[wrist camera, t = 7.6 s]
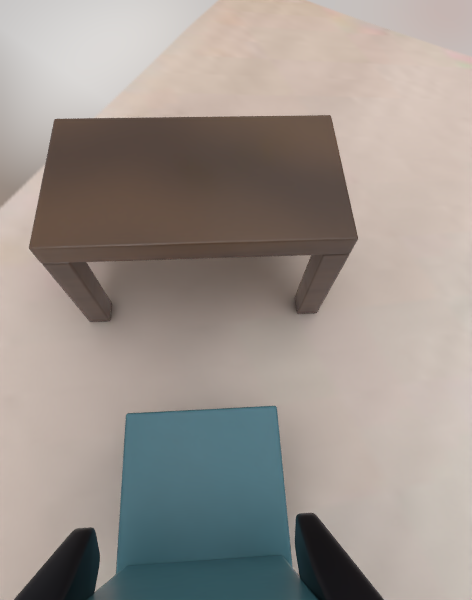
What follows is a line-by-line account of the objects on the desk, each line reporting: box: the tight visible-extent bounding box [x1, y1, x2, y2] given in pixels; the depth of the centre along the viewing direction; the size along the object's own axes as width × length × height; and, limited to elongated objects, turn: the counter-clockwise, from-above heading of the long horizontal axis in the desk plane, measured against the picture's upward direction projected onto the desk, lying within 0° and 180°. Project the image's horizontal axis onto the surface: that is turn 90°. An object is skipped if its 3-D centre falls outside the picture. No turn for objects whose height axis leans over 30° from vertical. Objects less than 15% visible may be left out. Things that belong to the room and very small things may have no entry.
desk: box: [29, 115, 358, 322], centre depth 17 cm, size 6×11×6 cm, turn 93°
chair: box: [87, 406, 319, 600], centre depth 9 cm, size 5×5×14 cm
